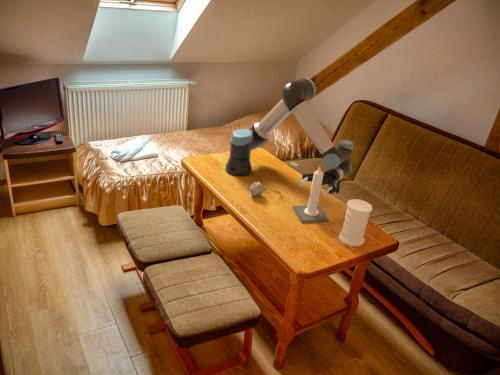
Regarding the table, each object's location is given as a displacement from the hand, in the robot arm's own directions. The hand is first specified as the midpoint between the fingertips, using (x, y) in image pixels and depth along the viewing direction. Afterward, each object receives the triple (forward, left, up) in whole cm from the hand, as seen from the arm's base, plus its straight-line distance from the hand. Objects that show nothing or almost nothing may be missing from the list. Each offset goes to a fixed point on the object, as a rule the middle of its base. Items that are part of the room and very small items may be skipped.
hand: (312, 188), depth 206 cm
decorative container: (+20, +15, -16) cm, 29 cm away
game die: (-22, -20, -16) cm, 34 cm away
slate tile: (-2, +3, -16) cm, 16 cm away
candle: (-2, +3, -15) cm, 15 cm away
